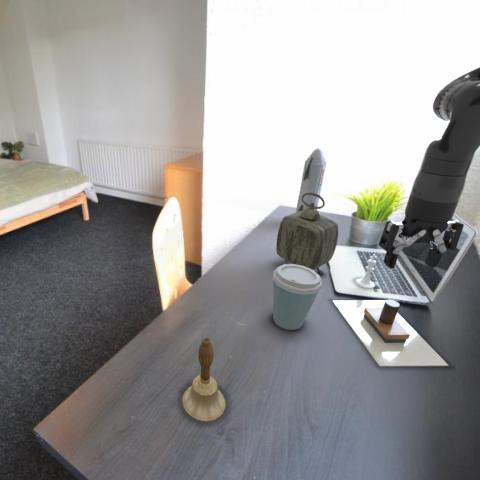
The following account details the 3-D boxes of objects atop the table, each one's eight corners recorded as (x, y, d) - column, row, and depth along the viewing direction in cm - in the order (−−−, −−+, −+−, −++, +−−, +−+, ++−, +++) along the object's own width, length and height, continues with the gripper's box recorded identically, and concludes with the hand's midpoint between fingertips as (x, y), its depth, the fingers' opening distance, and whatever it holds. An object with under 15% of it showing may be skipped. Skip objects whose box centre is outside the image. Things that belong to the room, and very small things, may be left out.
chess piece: (378, 290, 93) (388, 259, 89) (360, 290, 93) (370, 259, 89) (368, 280, 98) (378, 250, 93) (351, 280, 98) (360, 250, 93)
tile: (384, 302, 88) (385, 299, 88) (447, 368, 69) (449, 365, 68) (331, 302, 89) (332, 300, 88) (378, 368, 69) (379, 365, 69)
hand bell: (226, 427, 58) (233, 361, 51) (179, 420, 60) (179, 355, 52) (226, 387, 66) (232, 324, 58) (184, 382, 67) (185, 320, 60)
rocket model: (300, 232, 127) (315, 153, 113) (284, 226, 132) (297, 149, 118) (321, 223, 134) (338, 147, 120) (305, 218, 139) (319, 144, 126)
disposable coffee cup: (273, 304, 88) (281, 255, 82) (316, 319, 83) (329, 268, 76) (259, 327, 81) (266, 275, 74) (305, 345, 75) (318, 291, 68)
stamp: (362, 316, 82) (370, 291, 79) (381, 315, 82) (390, 290, 79) (384, 343, 74) (394, 317, 71) (406, 343, 74) (417, 316, 71)
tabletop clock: (328, 276, 100) (348, 197, 88) (310, 286, 95) (328, 204, 84) (287, 257, 111) (300, 184, 99) (269, 265, 106) (281, 190, 95)
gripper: (409, 202, 61) (385, 276, 68) (489, 199, 61) (457, 275, 68) (385, 189, 68) (366, 258, 75) (457, 187, 67) (430, 256, 75)
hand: (409, 266), depth 71 cm, fingers open, 8 cm apart
